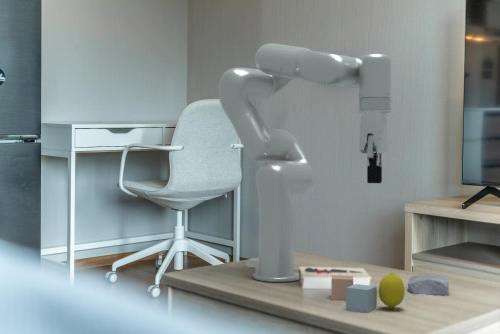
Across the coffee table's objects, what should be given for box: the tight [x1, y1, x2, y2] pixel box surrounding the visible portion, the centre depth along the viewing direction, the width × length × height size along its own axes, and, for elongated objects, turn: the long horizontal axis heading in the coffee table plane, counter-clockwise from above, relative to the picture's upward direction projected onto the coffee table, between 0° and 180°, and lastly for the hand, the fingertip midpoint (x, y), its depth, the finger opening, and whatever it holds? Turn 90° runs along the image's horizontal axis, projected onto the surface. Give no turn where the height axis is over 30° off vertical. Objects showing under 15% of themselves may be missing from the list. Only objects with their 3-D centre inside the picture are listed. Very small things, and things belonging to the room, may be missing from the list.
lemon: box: [378, 272, 405, 310], centre depth 162 cm, size 6×6×8 cm
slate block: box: [345, 283, 378, 314], centre depth 161 cm, size 5×5×5 cm
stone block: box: [406, 273, 449, 296], centre depth 183 cm, size 12×5×10 cm
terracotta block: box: [330, 274, 354, 302], centre depth 173 cm, size 5×5×5 cm
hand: (374, 182), depth 177 cm, fingers closed
